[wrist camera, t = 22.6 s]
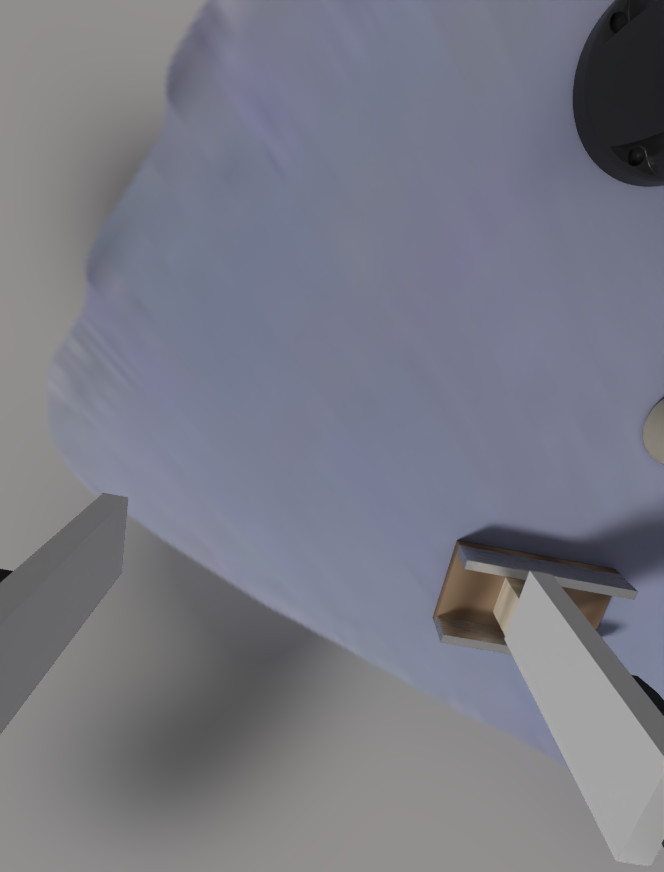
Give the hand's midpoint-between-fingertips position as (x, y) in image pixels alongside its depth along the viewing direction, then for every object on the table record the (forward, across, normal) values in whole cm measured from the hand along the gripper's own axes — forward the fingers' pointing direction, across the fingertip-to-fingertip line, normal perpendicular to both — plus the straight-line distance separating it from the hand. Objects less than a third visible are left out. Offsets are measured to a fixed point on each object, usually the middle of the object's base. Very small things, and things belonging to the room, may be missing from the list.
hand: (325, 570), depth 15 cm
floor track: (+32, +26, -19) cm, 45 cm away
